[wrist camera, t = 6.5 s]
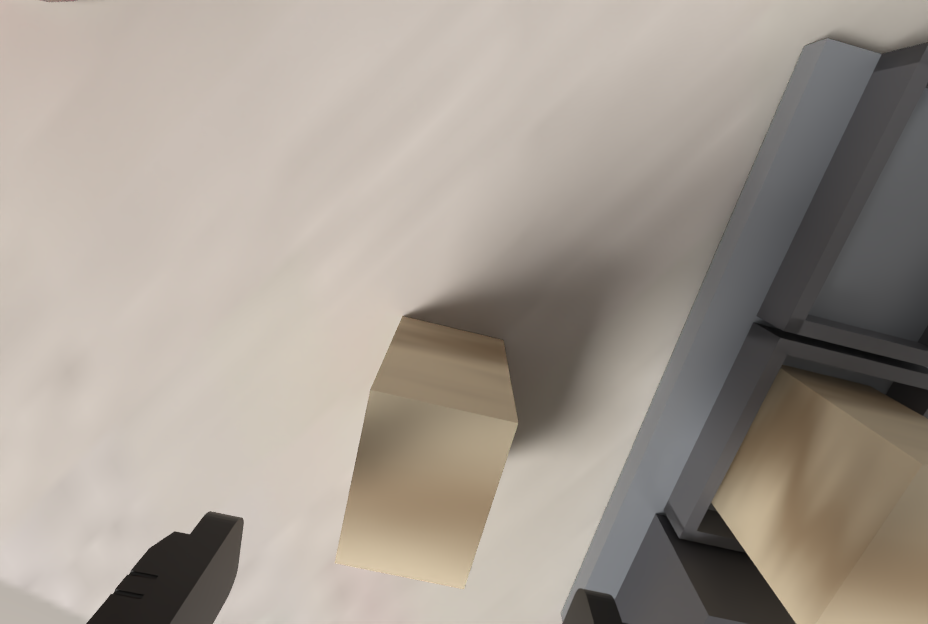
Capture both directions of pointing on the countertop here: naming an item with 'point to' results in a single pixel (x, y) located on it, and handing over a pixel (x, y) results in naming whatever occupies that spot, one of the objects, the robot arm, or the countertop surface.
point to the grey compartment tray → (779, 327)
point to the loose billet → (429, 454)
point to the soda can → (57, 0)
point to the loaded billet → (834, 501)
